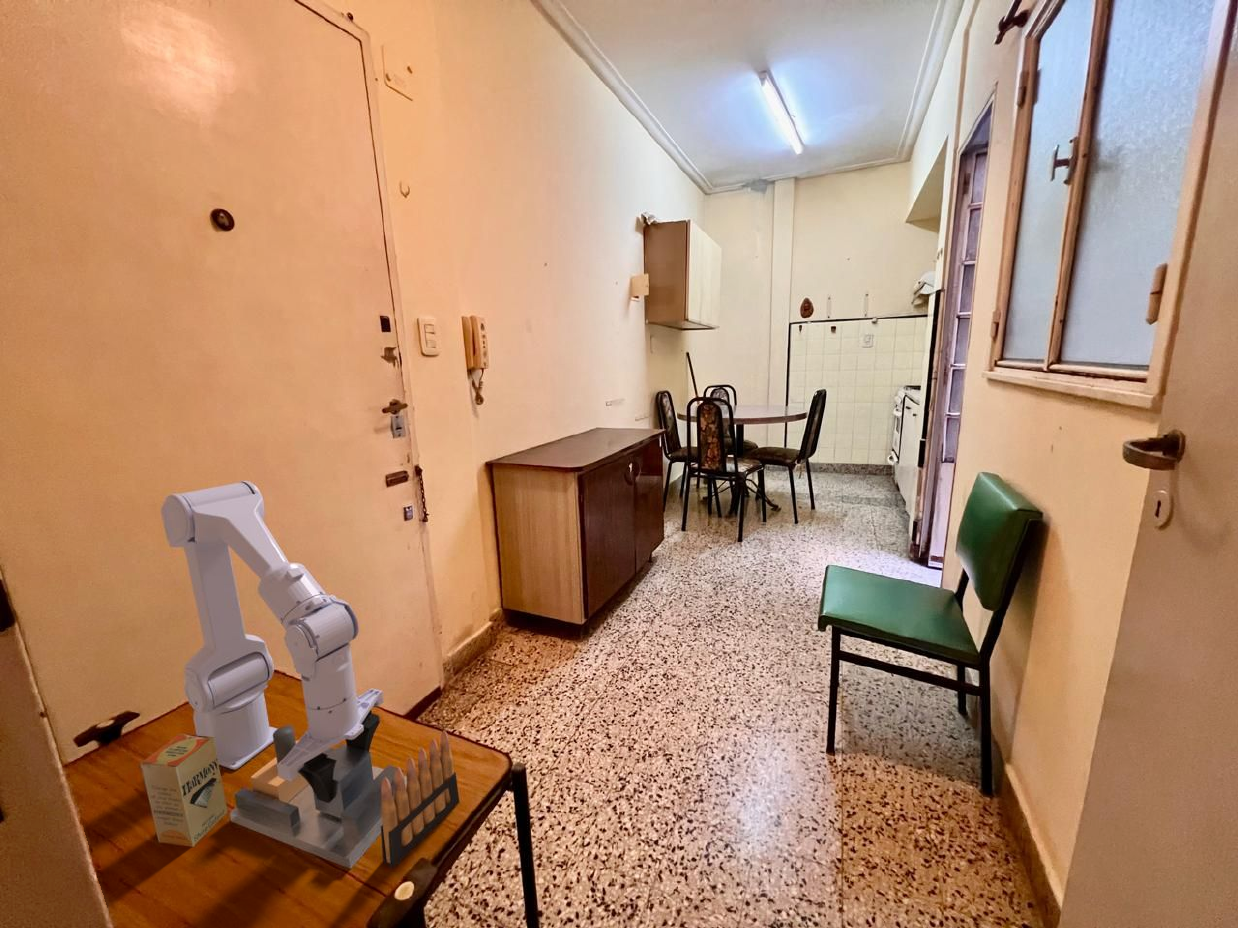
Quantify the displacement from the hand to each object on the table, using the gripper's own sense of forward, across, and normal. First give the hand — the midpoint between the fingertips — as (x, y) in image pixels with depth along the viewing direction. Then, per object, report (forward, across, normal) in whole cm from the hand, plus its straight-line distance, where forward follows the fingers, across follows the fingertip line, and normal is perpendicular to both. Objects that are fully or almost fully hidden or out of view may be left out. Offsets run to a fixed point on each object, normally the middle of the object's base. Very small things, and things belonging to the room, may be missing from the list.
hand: (342, 782), depth 66 cm
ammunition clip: (+5, +1, -12) cm, 13 cm away
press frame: (+5, 0, +3) cm, 6 cm away
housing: (+3, 0, 0) cm, 3 cm away
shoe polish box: (+5, -8, +18) cm, 20 cm away
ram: (+3, 0, +10) cm, 10 cm away
